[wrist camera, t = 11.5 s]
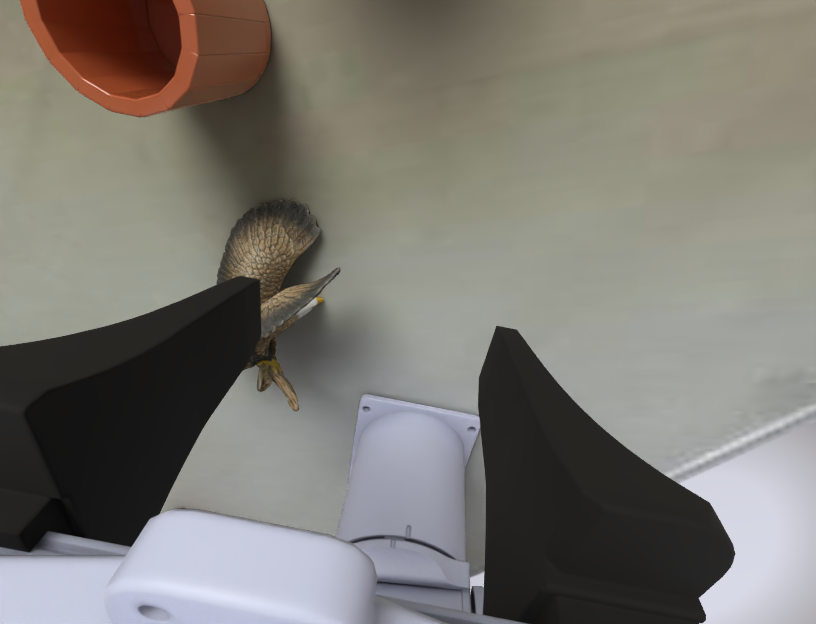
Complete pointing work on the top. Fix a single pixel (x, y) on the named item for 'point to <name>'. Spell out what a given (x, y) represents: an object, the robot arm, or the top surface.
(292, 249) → the eagle figurine
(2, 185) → the top surface
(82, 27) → the pot
